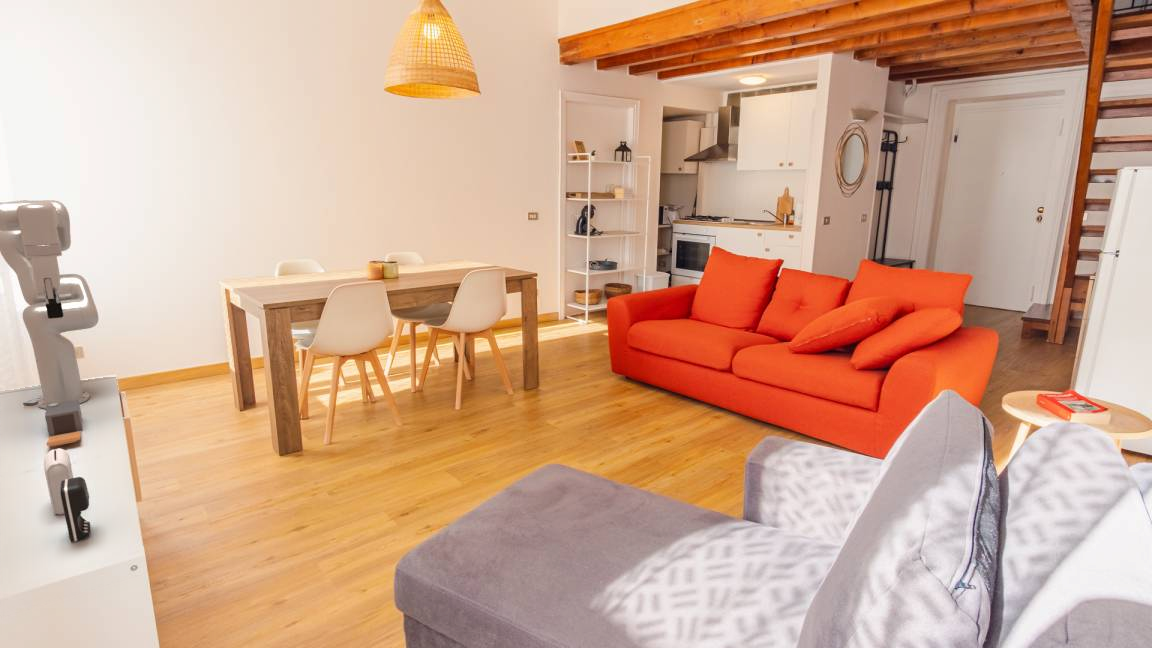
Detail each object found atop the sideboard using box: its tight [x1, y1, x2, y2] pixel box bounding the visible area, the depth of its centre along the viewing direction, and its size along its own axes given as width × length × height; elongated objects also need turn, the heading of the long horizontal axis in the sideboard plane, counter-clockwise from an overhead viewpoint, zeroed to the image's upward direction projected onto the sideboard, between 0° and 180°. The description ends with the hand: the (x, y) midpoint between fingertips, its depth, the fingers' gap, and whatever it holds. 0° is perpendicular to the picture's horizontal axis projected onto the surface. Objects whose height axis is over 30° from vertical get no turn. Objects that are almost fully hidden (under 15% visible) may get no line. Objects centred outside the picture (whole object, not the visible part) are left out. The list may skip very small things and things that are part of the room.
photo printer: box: [43, 447, 74, 515], centre depth 134 cm, size 10×4×12 cm, turn 39°
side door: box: [45, 431, 82, 448], centre depth 163 cm, size 1×7×12 cm
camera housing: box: [44, 400, 83, 438], centre depth 171 cm, size 10×7×8 cm
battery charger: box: [60, 476, 91, 543], centre depth 124 cm, size 7×4×11 cm, turn 37°
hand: (56, 317), depth 170 cm, fingers closed
